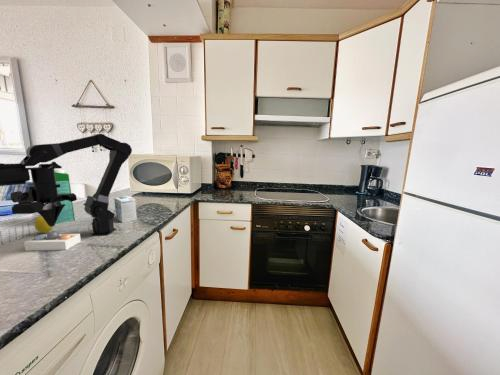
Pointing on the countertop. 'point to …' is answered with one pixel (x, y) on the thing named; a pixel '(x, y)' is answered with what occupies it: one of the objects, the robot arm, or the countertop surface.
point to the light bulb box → (125, 208)
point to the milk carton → (67, 210)
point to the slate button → (41, 237)
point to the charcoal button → (52, 235)
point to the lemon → (42, 225)
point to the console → (52, 243)
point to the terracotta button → (65, 236)
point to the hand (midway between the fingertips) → (51, 226)
